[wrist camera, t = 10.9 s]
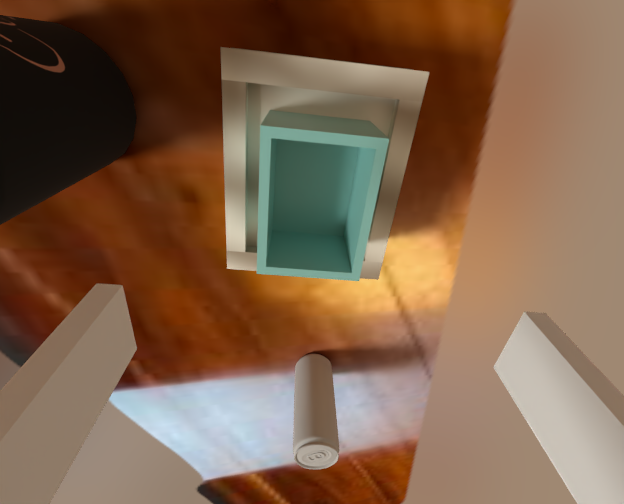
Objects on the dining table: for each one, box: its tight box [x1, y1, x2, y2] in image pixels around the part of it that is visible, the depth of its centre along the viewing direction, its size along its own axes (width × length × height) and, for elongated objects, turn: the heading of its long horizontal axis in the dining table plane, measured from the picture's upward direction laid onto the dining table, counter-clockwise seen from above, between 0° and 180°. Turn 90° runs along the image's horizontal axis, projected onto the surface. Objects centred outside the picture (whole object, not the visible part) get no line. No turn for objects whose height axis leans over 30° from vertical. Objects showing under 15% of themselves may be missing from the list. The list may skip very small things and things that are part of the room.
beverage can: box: [293, 354, 339, 469], centre depth 39 cm, size 5×5×12 cm
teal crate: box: [257, 110, 389, 281], centre depth 23 cm, size 10×7×6 cm
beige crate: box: [221, 47, 429, 279], centre depth 28 cm, size 16×13×7 cm
